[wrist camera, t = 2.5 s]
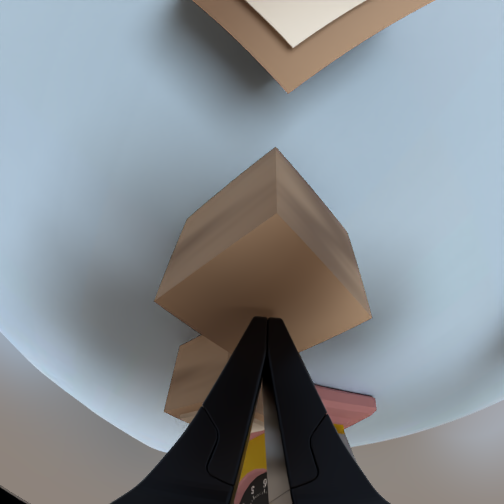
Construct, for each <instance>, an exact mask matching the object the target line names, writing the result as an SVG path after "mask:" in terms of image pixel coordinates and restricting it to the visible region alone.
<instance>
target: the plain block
mask: <svg viewBox="0 0 504 504" xmlns="http://www.w3.org/2000/svg"><path fill="white" fill-rule="evenodd" d="M154 302H156V303H157V304H158V305H160V306H161V307H162V308H164V309H165V310H167V311H168V312H169V313H171V314H172V315H174V316H175V317H177V318H178V319H179V320H181V321H182V322H184V323H185V324H187V325H188V326H190V327H191V328H193V329H194V330H195V331H197V332H198V333H200V334H201V335H203V336H204V337H206V338H207V339H209V340H210V341H212V342H214V343H215V344H217V345H218V346H220V347H221V348H223V349H224V350H226V351H228V352H229V353H231V354H232V353H233V351H234V349H235V348H236V346H237V344H238V343H239V341H240V339H241V337H242V336H243V334H244V332H245V330H246V329H247V327H248V325H249V323H250V321H251V320H252V318H253V317H254V316H263V317H267V319H268V318H269V317H277V318H282V320H283V321H284V323H285V325H286V327H287V330H288V332H289V334H290V336H291V338H292V340H293V342H294V344H295V346H296V348H297V350H298V352H301V351H303V350H306V349H308V348H310V347H313V346H315V345H317V344H319V343H321V342H324V341H326V340H328V339H330V338H332V337H334V336H337V335H339V334H341V333H343V332H345V331H347V330H349V329H351V328H353V327H355V326H357V325H359V324H361V323H363V322H365V321H367V320H369V319H371V318H372V315H371V311H370V308H369V304H368V300H367V296H366V293H365V289H364V286H363V282H362V279H361V275H360V272H359V268H358V265H357V262H356V258H355V255H354V252H353V249H352V245H351V242H350V239H349V236H348V233H347V231H346V230H345V229H344V227H343V226H342V225H341V224H340V222H339V221H338V220H337V219H336V217H335V216H334V215H333V214H332V212H331V211H330V210H329V209H328V207H327V206H326V205H325V204H324V203H323V201H322V200H321V199H320V198H319V196H318V195H317V194H316V193H315V192H314V190H313V189H312V188H311V187H310V186H309V185H308V183H307V182H306V181H305V180H304V179H303V177H302V176H301V175H300V174H299V173H298V172H297V170H296V169H295V168H294V167H293V166H292V165H291V164H290V162H289V161H288V160H287V159H286V158H285V157H284V156H283V155H282V153H281V152H280V151H279V150H278V149H277V148H276V147H275V148H273V149H272V150H271V151H269V152H268V153H267V154H266V155H264V156H263V157H262V158H260V159H259V160H258V161H257V162H255V163H254V164H253V165H252V166H250V167H249V168H248V169H247V170H245V171H244V172H243V173H242V174H240V175H239V176H238V177H237V178H235V179H234V180H233V181H232V182H230V183H229V184H228V185H227V186H226V187H224V188H223V189H222V190H221V191H220V192H218V193H217V194H216V195H215V196H214V197H212V198H211V199H210V200H209V201H208V202H206V203H205V204H204V205H203V206H202V207H200V208H199V209H198V210H197V211H196V212H195V213H193V214H192V215H191V216H190V217H189V218H188V219H187V220H186V223H185V225H184V227H183V230H182V232H181V235H180V237H179V239H178V242H177V244H176V247H175V249H174V251H173V254H172V256H171V259H170V261H169V264H168V266H167V269H166V271H165V274H164V276H163V279H162V281H161V284H160V287H159V289H158V292H157V294H156V297H155V300H154Z"/></svg>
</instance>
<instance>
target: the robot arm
mask: <svg viewBox="0 0 504 504" xmlns="http://www.w3.org/2000/svg"><path fill="white" fill-rule="evenodd" d="M261 383H262V398H263V414H264V431H265V448H266V464H267V481H268V498H269V504H390V503H389V502H388V501H386V500H385V499H384V498H383V497H382V496H381V495H379V494H378V492H377V491H376V490H375V489H374V488H373V486H372V485H371V483H370V482H369V481H368V479H367V478H366V476H365V475H364V473H363V472H362V470H361V469H360V467H359V466H358V465H357V463H356V461H355V460H354V458H353V457H352V455H351V454H350V452H349V451H348V449H347V448H346V446H345V444H344V443H343V441H342V440H341V438H340V436H339V434H338V432H337V430H336V428H335V426H334V425H333V422H332V420H331V418H330V416H329V414H326V413H327V410H326V408H325V406H324V404H323V402H322V400H321V398H320V396H319V394H318V392H317V390H316V388H315V385H314V383H313V381H312V379H311V377H310V375H309V373H308V371H307V369H306V367H305V365H304V363H303V361H302V359H301V356H300V354H299V352H298V350H297V348H296V346H295V344H294V342H293V340H292V338H291V336H290V334H289V332H288V330H287V327H286V325H285V323H284V321H283V320H282V318H277V317H269V318H268V319H267V317H263V316H254V317H253V318H252V320H251V321H250V323H249V325H248V327H247V329H246V330H245V332H244V334H243V336H242V337H241V339H240V341H239V343H238V344H237V346H236V348H235V349H234V351H233V353H232V355H231V356H230V358H229V360H228V362H227V363H226V365H225V367H224V368H223V370H222V372H221V373H220V375H219V377H218V379H217V380H216V382H215V384H214V385H213V387H212V389H211V390H210V392H209V394H208V395H207V397H206V399H205V400H204V402H203V404H202V406H201V407H200V408H199V410H198V412H197V413H196V415H195V417H194V418H193V420H192V421H191V423H190V424H189V426H188V427H187V429H186V430H185V432H184V433H183V434H182V435H181V437H180V438H179V439H178V441H177V442H176V443H175V444H174V446H173V447H172V448H171V449H170V450H169V451H168V453H167V454H166V455H165V456H164V457H163V459H162V460H161V461H160V462H159V463H158V464H157V465H156V466H155V468H154V469H153V470H152V471H151V472H150V473H149V474H148V475H147V476H146V477H145V478H144V479H143V480H142V481H141V482H140V483H139V484H138V485H137V486H136V487H134V488H133V489H132V490H130V491H129V492H127V493H126V494H124V495H123V496H121V497H119V498H118V499H116V500H115V501H113V502H112V503H110V504H234V500H235V496H236V493H237V489H238V485H239V481H240V476H241V472H242V468H243V464H244V460H245V456H246V451H247V447H248V443H249V439H250V434H251V430H252V425H253V421H254V417H255V412H256V408H257V403H258V398H259V394H260V389H261ZM0 504H30V503H28V502H27V501H25V500H23V499H22V498H20V497H18V496H16V495H15V494H13V493H12V492H10V491H9V490H7V489H5V488H4V487H2V486H1V485H0Z"/></svg>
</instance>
